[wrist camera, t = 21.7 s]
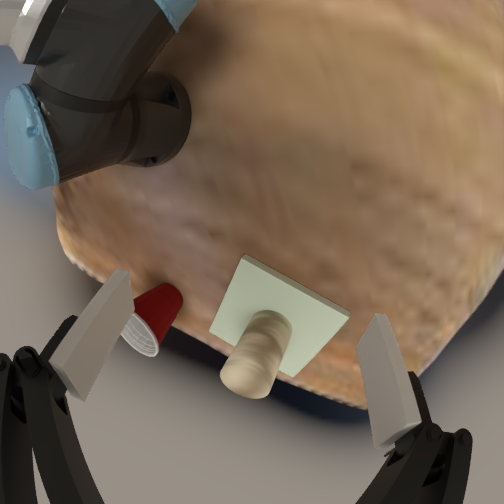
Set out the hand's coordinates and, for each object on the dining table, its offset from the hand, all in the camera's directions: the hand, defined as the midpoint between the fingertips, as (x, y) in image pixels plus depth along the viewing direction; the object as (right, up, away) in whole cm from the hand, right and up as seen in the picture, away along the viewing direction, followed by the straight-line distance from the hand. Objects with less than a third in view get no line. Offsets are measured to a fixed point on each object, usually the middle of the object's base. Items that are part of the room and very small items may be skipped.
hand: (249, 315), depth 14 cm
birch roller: (+3, -9, +29) cm, 31 cm away
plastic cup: (-16, -5, +37) cm, 41 cm away
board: (+4, -8, +31) cm, 32 cm away
